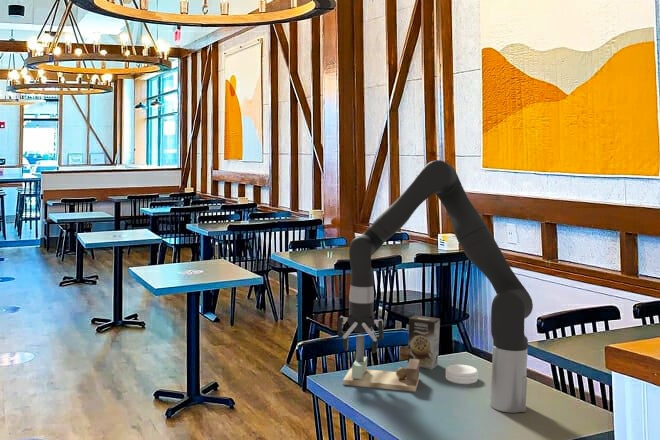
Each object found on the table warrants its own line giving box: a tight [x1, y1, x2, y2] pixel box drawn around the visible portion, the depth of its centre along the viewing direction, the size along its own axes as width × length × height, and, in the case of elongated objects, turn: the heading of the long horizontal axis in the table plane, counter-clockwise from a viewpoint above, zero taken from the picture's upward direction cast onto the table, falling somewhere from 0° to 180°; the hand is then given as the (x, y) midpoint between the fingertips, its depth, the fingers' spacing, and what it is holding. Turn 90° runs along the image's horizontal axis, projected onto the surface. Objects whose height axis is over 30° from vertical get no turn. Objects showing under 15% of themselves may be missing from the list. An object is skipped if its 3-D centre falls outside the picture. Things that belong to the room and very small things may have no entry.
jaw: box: [351, 334, 368, 379], centre depth 193 cm, size 3×10×12 cm, turn 167°
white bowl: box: [445, 364, 479, 385], centre depth 197 cm, size 10×10×4 cm
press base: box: [342, 359, 420, 393], centre depth 192 cm, size 22×12×6 cm, turn 77°
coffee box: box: [407, 314, 441, 370], centre depth 210 cm, size 9×6×16 cm
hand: (360, 351), depth 193 cm, fingers open, 8 cm apart
